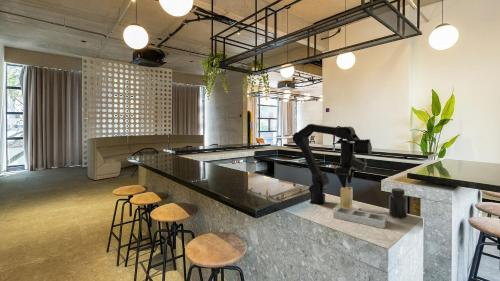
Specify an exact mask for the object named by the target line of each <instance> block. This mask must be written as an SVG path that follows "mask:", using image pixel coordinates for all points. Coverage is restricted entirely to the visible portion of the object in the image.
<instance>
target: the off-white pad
mask: <svg viewBox="0 0 500 281" xmlns="http://www.w3.org/2000/svg"><path fill="white" fill-rule="evenodd" d="M338 207H340V203H337V205H335V206H334V207H333V208H332V210H333V211H335V210H336V209H337V208H338ZM352 209H354V210H360V207H359V206H355V205H352Z"/></svg>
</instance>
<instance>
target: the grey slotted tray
mask: <svg viewBox="0 0 500 281" xmlns="http://www.w3.org/2000/svg"><path fill="white" fill-rule="evenodd" d="M332 216H333V218H334V219H338V220H342V221H348V222H353V223H357V224H361V225H362V224H363V225H366V226H372V227H376V228H379V229H380V228H381V229H385V228H386V226H387V223H388V215H387V214H381V213H374V212H371V211H365V210H360V209H359V210H354V209H349V208H344V207H338V208H337V209H336V210H333V215H332Z"/></svg>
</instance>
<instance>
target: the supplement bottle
mask: <svg viewBox="0 0 500 281" xmlns="http://www.w3.org/2000/svg"><path fill="white" fill-rule="evenodd" d="M388 213H389V214H388V215H389V216H390V217H392V218H394V219H401V220H402V219H406V218H407V217H408V197H407V196H406V195H405V189H403V188H399V187H398V188H397V187H394V188H393V187H392V188H391V194H390V195H389V196H388Z"/></svg>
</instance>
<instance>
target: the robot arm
mask: <svg viewBox="0 0 500 281" xmlns="http://www.w3.org/2000/svg"><path fill="white" fill-rule="evenodd" d="M313 133H319V134H325V135H332V136H335V137H336V138H338V140H337V141H336V142H335V143H336V144H340V155H339V158H340V163H339V165H338V166H336V168H334V174H335V175H336V176H337V178H338V181H339V182H340V184H341V186H342V187H343V188H346V186H347V184H351V183H352V179H353V176H354V173H355V172H356V171H357V170H360V171H364V170H366V168H367V165H368V161H367V160H366V158H364V157H362V158H360V159H359V158H356V155H355V154H357V155H368V156H369V155H371V154H372V152H373V150H372V149H373V146H372V143H371V139H370V138H366V139H360V137H359V136H358V135H357V134H356V131H355V129H354V127H352V126H330V125H323V124H322V125H321V124H315V123H309V124H307V125H306V126H305V127H302V129H300V130H298V131H297V132H294V134H293V135H292V141H293V142H294V144H295V145H296V146H297V147H298V148H299V149H300V150H301V153H302V155H303V157H304V160H305V162H306V164H307V167H308V168H309V171H310V173H311V182H312V184H311V185H310V186H309V187H308V191H309V193H310V201H309V204H314V205H320V206H323V204H324V203H326V194H325V191H326V189H327V188H328V186H329V185H330V181H329V180H330V179H329V177H328V175H327V172H322V170H321V169H320V167H319V164H318V163H317V160H316V157H315V156H314V154H313V151H312V149H311V146H310V138H309V137H311V136H312V134H313ZM354 153H355V154H354Z"/></svg>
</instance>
